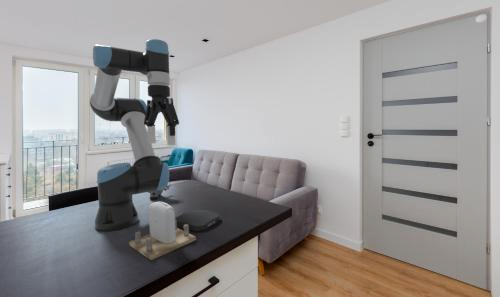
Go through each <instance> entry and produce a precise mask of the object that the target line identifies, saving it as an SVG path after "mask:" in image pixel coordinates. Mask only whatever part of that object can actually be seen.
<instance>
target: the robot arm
mask: <svg viewBox="0 0 500 297" xmlns="http://www.w3.org/2000/svg"><path fill="white" fill-rule="evenodd" d="M144 49H145V52H144V51H140V50H139V51H138V50H132V49H126V48H120V47H116V46H115V47H114V46H110V45H102V44H101V45H100V44H95V45H94V46H93V47H92V61H93V65H94V67H95V68H97V73H96V78H95V85H94V90H93V94H91V96H90V98H89V106H90V108H91V110H92V112H94V114H95V115H97V116H98V117H99V118H101V119H103V120H105V121H109V122H120V124H121V125H122V126H123V127H125V128H126V132H127V135H128V139H129V143H130V148H131V150H132V153H133V154H132V155H133V157H134V158H133V159H134V162H133V164H131V163H130V162H120V163H119V162H118V163H114V164H110V165H106V166H103V167H101V168H100V169H98V171H97V173H96V174H97V176H96V177H97V179H96V184H97V191H98V194H97V195H98V210H97V212H96V216H95V218H94V228H95V229H96V230H98V231H104V232H106V231H107V232H108V231H117V230H121V229H126V228H128V227H131V226H133V225H134V224H136V223H137V222H138V221H139V213H138V210H137V209H136V206H135V204H134V201H133V195H139V194H145V193H148V192H152V191H158V190H162V189H165V188H166V187H167V186H169V182H170V168H169V165H168V163H167V162H162V160H161V158H160V157H159V156H157V155H156V154H155V150H154V148H153V145H152V144H156V141H157V140H156V124H155V123H156V120H157V117H158V115H159V114H160V113H161V114H162V116H163V118H164V119H165V122H166V142H167V143H166V145H167V146H176V126H177V125H180V120H179V117H178V114H177V111H176V108H175V105H174V99H173V97H172V98H171V87H170V85H171V81H170V79H171V78H170V54H169V53H170V52H169V51H170V50H169V44H168V43H167V41H165V40H162V39H157V38H150V39H148V40H146V41H145V48H144ZM122 71H127V72H135V73H140V74H141V75H144V76H146V78H147V85H148V86H147V96H149V97H150V98H151V99H147V101H146V102H145V100H143V99H140V98H130V97H129V98H127V97H125V98H123V97H115V94H116V91H117V87H118V84H119V81H120V77H121V73H122ZM166 189H167V188H166Z"/></svg>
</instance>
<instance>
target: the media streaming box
mask: <svg viewBox="0 0 500 297" xmlns="http://www.w3.org/2000/svg"><path fill="white" fill-rule="evenodd" d="M175 219H176V220H177V228H179V229H184V225H186V224H188V225H189V231H194V232H200V231H205V230H207V229H209V228H210V227H212V226H214V225H215V224H217V223H218V222H220V214H219V213H217V212H215V211H211V210H208V209H194V210H189V211H186V212H183V213H182V214H180V215H178V216H177V217H175Z"/></svg>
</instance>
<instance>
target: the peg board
mask: <svg viewBox="0 0 500 297" xmlns="http://www.w3.org/2000/svg"><path fill="white" fill-rule="evenodd" d="M141 233H142V232H141V231H135V232H134V239H132V240H129V241H128V246H130V247H131V248H132V249H134V250H135V251H137V252H138V253H139V254H141V255H143V256H144V257H146V258H147V259H148V260H150V261H152V260H153V261H154V260H155V259H157V258H159V257H162V256H164V255H166V254H169V253H171V252H173V251H175V250H177V249H179V248H181V247H184V246H185V245H188V244H191V243H193V242H195V241H197V236H195V235H193V234H191V233H190V230H189V225H188V224H186V225H184V228H183V229H182V228H180V227H177V220H176V218H175V233H176V239H175V241H174V242H172V243H169V244H166V243H163V242H161V241H158V240H156V239H154V238H152V237H151V236H150V233H149V234H146V235H143V236H142V235H141Z"/></svg>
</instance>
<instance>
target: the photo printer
mask: <svg viewBox="0 0 500 297" xmlns="http://www.w3.org/2000/svg"><path fill="white" fill-rule="evenodd" d="M175 213H176V212H175V208H173V206H171V205H170V204H168V203H166V202H163V201H154V202H152V203H150V204H149V206H148V219H149V220H148V221H149V222H148V223H149V234H150V236H151V237H152V238H154V239H156V240H158V241H161V242H163V243H166V244H169V243H172V242H174V241H175V239H176V233H175V219H176V215H175Z"/></svg>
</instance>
